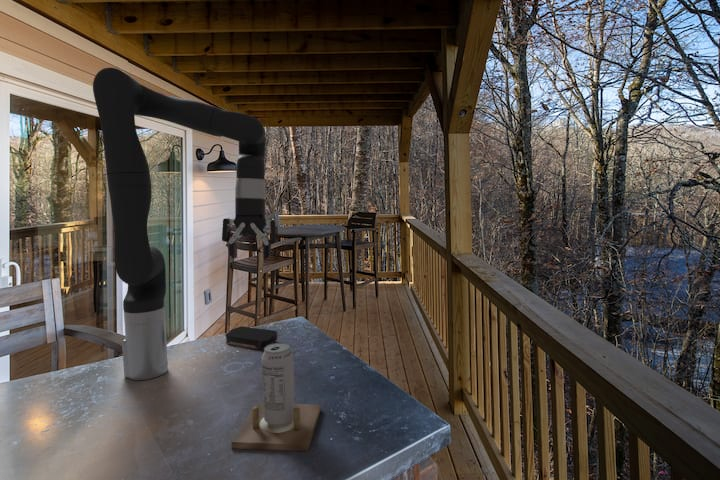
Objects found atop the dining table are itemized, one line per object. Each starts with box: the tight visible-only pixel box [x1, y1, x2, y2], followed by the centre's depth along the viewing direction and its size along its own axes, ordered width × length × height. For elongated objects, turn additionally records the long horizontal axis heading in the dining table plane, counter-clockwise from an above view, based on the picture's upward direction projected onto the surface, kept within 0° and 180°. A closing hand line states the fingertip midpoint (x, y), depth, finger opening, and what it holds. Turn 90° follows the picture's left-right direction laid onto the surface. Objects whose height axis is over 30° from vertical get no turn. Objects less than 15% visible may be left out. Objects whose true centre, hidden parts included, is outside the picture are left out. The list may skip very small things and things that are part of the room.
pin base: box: [230, 402, 322, 452], centre depth 79 cm, size 14×14×5 cm
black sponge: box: [224, 325, 278, 350], centre depth 127 cm, size 16×8×4 cm, turn 66°
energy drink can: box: [261, 342, 296, 428], centre depth 79 cm, size 6×6×15 cm
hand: (250, 258), depth 106 cm, fingers open, 8 cm apart
